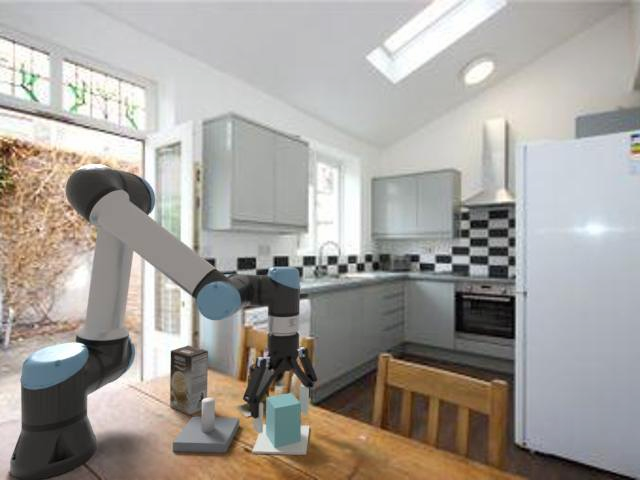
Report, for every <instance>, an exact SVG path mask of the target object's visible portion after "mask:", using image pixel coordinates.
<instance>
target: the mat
mask: <svg viewBox="0 0 640 480" xmlns="http://www.w3.org/2000/svg"><path fill="white" fill-rule="evenodd" d="M310 427H311V425H301V442H297V443H293V444H289V445H285V446H281V447H277V448H274V447H273V445H272V443H271V442H270V440H269V439H268V437H267V435H266V423H263V433H258V435H257V437H256V438H257V439H256V441H255V442H254V446H253V448H252V450H251V454H256V455H257V454H260V455H262V454H264V455H265V454H266V455H291V456H292V455H299V456H307V449H308V444H309V442H308V441H309V435H310V434H309V433H310Z"/></svg>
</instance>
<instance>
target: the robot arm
mask: <svg viewBox="0 0 640 480" xmlns="http://www.w3.org/2000/svg"><path fill="white" fill-rule="evenodd" d="M65 195H66V199H67V201H68V203H69V205H70V206H71V207H72V208H73V210H74V211H75V212H76V213H77V214H79V215H80V216H81V217H82V218H83V219H84V220H86V221H87V222H88V223H89V224H91V225H92V226H93V227H95V228H96V237H95V244H94V253H93V258H92V259H93V261H92V268H91V274H90V283H89V291H88V299H87V306H86V315H85V321H84V322H85V323H84V325H83V326H82V327H81V328H79V329H78V330H76V335H75V341H74V342H64V343H63V342H62V343H57V344H55V345H49V346H47V347H44V348H41V349H38V350H37V351H35V352H33V353H31V354H30V355H29V356H27V357H26V359H24V362H23V363H22V367H21V368H22V369H21V375H20V387H21V388H20V393H21V394H20V395H21V396H20V397H21V398H20V401H21V402H20V403H21V404H20V405H21V408H20V409H21V411H20V412H21V418H20V419H21V424H20V425H21V426H20V427H21V430H20V434H19V436H18V439H17V440H16V443H15V446H14V449H13V451H12V452H13V453H12V455H11V457H10V459H9V460H10V463H9V464H10V465H9V473H10V475H11V476H12V477H13V478H15V479H18V480H43V479H47V478H51V477H55V476H58V475H63V474H64V473H67V472H69V471H72V470H73V469H74V470H75V469H76V468H78V467H80V466H82V465H83V464H85V463H86V462H87V461H88V460H90V459H91V458H92V457H93V456H94V454H95V453H96V450H97V436H96V435H95V433H94V430H93V427H92V424H91V422H90V419H89V415H88V396H89V395H91V394H93V393H94V392H96V391H98V390H100V389H102V388H103V387H105V386H107V385H108V384H110V383H113V382H116V381H117V380H118V379H119V378H121V377H122V376H123V375H124V374H126V373H127V372H128V371H129V370H130V369H131V367H132V365H133V364H134V361H135V357H136V347H135V345H134V344H135V343H132V339H131V337H130V331H129V329H128V328H127V327H126V326H125V317H126V310H127V303H128V296H129V288H130V280H131V274H132V273H131V272H132V266H133V256H134V252H135V253H136V254H137V255H138V256H140V257H141V258H142V259H143V260H144V261H146V262H147V263H148V264H149V265H151V266H152V267H153V268H155V269H156V270H157V271H158V272H160V273H161V274H162V275H163V276H165V277H166V278H167V279H169V280H170V281H171V282H172V283H174V284H175V285H176V286H177V287H179V288H180V289H181V290H183V291H184V293H187V294H188V296H190V297H192V298H193V299H194V300H195V301H196V306H197V308H198V311H199V312H200V315H202V317H204V318H205V319H207V320H210V321H220V320H224V319H227V318H230V317H232V316H233V315H235V314H236V313H237V312H240V310H241V311H242V309H244V308H246V307H263V308H264V307H267V327H266V329H267V331H268V333H267V337H266V338H267V340H266V342H267V344H266V345H267V350H268V354H267V356H264V357H262V356H259V355H258V356H257V357H256V358H255V364H256V365H255V369H254V371H253V374H252V376H251V379H250V381H249V384H248V383H247V387H246V389H245V391H244V394H243V396H242V399H243V401H244V402H246V404H247V403H249V404H251V417H252V418H253V423H252V424H253V426H252V427H253V429H252V430H254V431H256V432H257V433H258V434H259V433H263V424H264V413H263V403H262V402H261V400H262V398H263V397H264V395H265V393H266V391H267V390H268V388H269V389H270V386H271V384H272V383H273V381H274V379H275V378H277V377H278V376H279V374H280V375H281V374H283V373H285V372H290V371H292V372H293V373H294V375H295V376H296V377H297V378H298V380H299V381H300V382H301V384H300V385H299V400H298V401H299V402H300V403H301V414H302V413H303V414H304V415H308V414H309V409H310V408H309V407H310V404H309V402H310V398H311V396H312V395H311V390H312V389H311V388H314V386H315V383H317V382H318V377H317V375H316V372H315V370H314V368H313V365H312V362H311V360H310V359H311V358H310V356H309V349H308V348H307V347H304V346H301V345H300V333H299V330H300V307H301V306H300V301H301V285H300V283H301V281H300V277H301V276H300V271H299V269H298V268H297V267H293V266H271V267H269V268H268V270H267V271H268V272H267V274H262V275H261V274H241V273H239V274H238V273H228V274H224V273H223V272H221V271H220V270H219V269H217V268H216V266H214V265H212V264H211V263H210V262H209V261H208V260H206V259H205V258H204V257H202V256H201V255H200V254H198V252H196V251H195V250H193V249H192V248H190V247H189V246H188V245H187V244H186V243H184V242H183V241H181V239H179V238H178V237H177V236H175V235H174V234H172V233H171V232H170V231H169V230H168V229H166V228H165V227H164V226H162V225H161V224H160V223H158V222H157V221H156V220H155V219H153V218H152V217H151V216H149V215H150V214H152V212H153V210H154V209H155V205H156V194H155V191H154V189H153V187H152V185H151V184H150V183H149V182H148V180H146V179H145V178H143V177H141V176H139V175H137V174H135V173H134V172H133V173H132V172H129V171H125V170H124V171H123V170H120V169H117V168H112V167H109V166H106V165H102V164H95V163H94V164H88V165H87V164H86V165H84V166H81V167H78V168H77V169H75V170H74V171H73V172H72V173H71V174H70V175H69V177H68V179H67V181H66V183H65ZM298 359H299V361H300V364H301V365H300V364H299V363H298V361H297V360H298ZM301 366H302V368H303V369H302V368H301ZM266 367H267V368H266ZM303 370H304V371H303ZM264 373H265V374H264ZM256 397H257V398H256Z"/></svg>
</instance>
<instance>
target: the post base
mask: <svg viewBox="0 0 640 480" xmlns="http://www.w3.org/2000/svg"><path fill="white" fill-rule="evenodd" d="M215 404H216V399H215V397H207V398H205V399H203V400H202V409H201V416H192V417H191V419H189V421H188V423H187V424H186V425H185V426H184V427H183V429H182V430H181V431H180V432H179V434H178V435H177V436H176V437H175V439H174V440H173V441H172V452H194V453H195V452H196V453H197V452H198V453H223V454H225V453H227V450H228V449H229V447H230V446H231V442H232V441H233V439H234V437H235V435H236V433H237V431H238V429H239V427H240V417H219V416H217V417H216V416H215V415H216V413H215V412H216V411H215V409H216V407H215V406H216V405H215Z"/></svg>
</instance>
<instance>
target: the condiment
mask: <svg viewBox="0 0 640 480" xmlns="http://www.w3.org/2000/svg"><path fill="white" fill-rule="evenodd" d="M255 365H256V363H253V364H250V365H249V367H248V368H249V372H248V375H247V385H248V384H249V381H250V379H251V376H252V374H253V371H254V369H255ZM266 368H267V367H266ZM264 374H265V373H264ZM266 397H270V387H269V388H268V390H267V391H266V393H265V395H264V397H263V398H262V400H261V402H262V403H263V414H264V413H266ZM256 398H257V397H256ZM236 408H237V409H238V410H239V412H240V413H241V414H243V416H244V417H245V418H247V417H250V416H251V404H249V403H247V402H246V403H245V404H239V405H236ZM251 417H252V416H251Z"/></svg>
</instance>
